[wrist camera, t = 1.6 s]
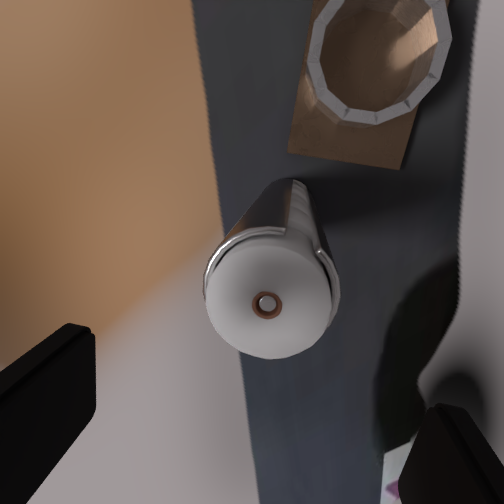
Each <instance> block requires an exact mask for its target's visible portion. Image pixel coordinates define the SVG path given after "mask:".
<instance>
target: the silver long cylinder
mask: <svg viewBox="0 0 504 504" xmlns="http://www.w3.org/2000/svg"><path fill="white" fill-rule="evenodd" d="M203 295H204V299H205V303H206V307H207V311H208V315H209V319H210V321H211V322H212V324H213V326H214V328H215V330H216V331H217V332H218V333H219V335H220V336H221V337H222V338H223V339H224V340H225V341H226V342H227V343H228V344H230V345H231V346H233V347H234V348H236V349H237V350H239V351H241V352H244V353H247V354H249V355H252V356H256V357H260V358H265V359H278V358H286V357H289V356H292V355H294V354H297V353H300V352H302V351H304V350H305V349H307V348H309V347H311V346H312V345H313V344H314V343H315V342H316V341H317V340H318V339H319V338H320V337H321V336H322V335H323V333H324V331H325V330H326V329H327V328H328V327H329V326H330V324H331V322H332V320H333V319H334V317H335V315H336V313H337V311H338V306H339V301H340V297H341V289H340V279H339V274H338V271H337V268H336V265H335V262H334V259H333V256H332V253H331V250H330V247H329V244H328V241H327V238H326V235H325V232H324V229H323V226H322V223H321V220H320V217H319V214H318V211H317V208H316V205H315V202H314V199H313V197H312V194H311V192H310V191H309V189H308V188H307V187H306V186H305V185H304V184H303V183H301V182H300V181H297V180H295V179H288V178H285V179H279V180H276V181H274V182H272V183H271V184H270V185H268V186H267V187H266V188H265V189H264V191H263V192H262V193H261V194H260V196H259V197H258V198H257V199H256V200H255V202H254V203H253V204H252V205H251V207H250V208H249V209H248V210H247V211H246V213H245V214H244V215H243V216H242V218H241V219H240V220H239V221H238V222H237V224H236V225H235V226H234V227H233V229H232V230H231V231H230V232H229V233H228V235H227V236H226V237H225V238H224V240H223V241H222V242H221V243H220V245H219V246H218V247H217V248H216V250H215V252H214V253H213V254H212V256H211V257H210V258H209V260H208V264H207V266H206V269H205V272H204V276H203Z"/></svg>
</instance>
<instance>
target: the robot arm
mask: <svg viewBox="0 0 504 504" xmlns="http://www.w3.org/2000/svg"><path fill="white" fill-rule="evenodd" d="M95 356H96V355H95V335H94V334H92V333H91V330H90V328H89V327H85V326H80V325H76V324H72V323H67V324H65V325H64V326H62V327H61V328H60V329H58V330H57V331H55V332H54V333H53V334H52V335H50V336H49V337H47V338H46V339H44V340H43V341H42V342H40V343H39V344H38V345H36V346H35V347H33V348H32V349H31V350H29V351H28V352H27V353H25V354H24V355H23V356H21V357H20V358H18V359H17V360H16V361H14V362H13V363H12V364H10V365H9V366H8V367H6V368H5V369H4V370H2V371H1V372H0V504H26V503H27V502H28V501H29V499H30V498H31V497H32V495H33V494H34V493H35V492H36V490H37V489H38V488H39V486H40V485H41V484H42V483H43V481H44V480H45V479H46V477H47V476H48V475H49V474H50V472H51V471H52V470H53V468H54V467H55V466H56V464H57V463H58V462H59V461H60V459H61V458H62V457H63V455H64V454H65V453H66V452H67V450H68V449H69V448H70V446H71V445H72V444H73V443H74V441H75V440H76V439H77V437H78V436H79V435H80V433H81V432H82V431H83V430H84V428H85V427H86V425H87V424H88V423H89V422H90V420H91V419H92V417H93V415H94V413H95V410H96V362H95V361H96V358H95ZM398 491H399V496H400V499H401V502H402V504H504V466H503V464H502V463H501V461H500V460H499V459H498V457H497V455H496V454H495V452H494V451H493V450H492V448H491V446H490V445H489V443H488V442H487V440H486V439H485V437H484V436H483V435H482V433H481V431H480V430H479V429H478V427H477V425H476V424H475V422H474V421H473V419H472V418H471V417H470V415H469V414H468V412H467V411H466V410H465V409H463V408H461V407H457V406H452V405H448V404H442V403H438V404H436V405H435V407H430V408H429V409H428V410H427V413H426V415H425V417H424V420H423V422H422V424H421V427H420V429H419V432H418V434H417V436H416V439H415V441H414V444H413V446H412V448H411V451H410V453H409V455H408V458H407V460H406V463H405V465H404V467H403V470H402V472H401V475H400V477H399V480H398Z"/></svg>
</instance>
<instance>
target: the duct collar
mask: <svg viewBox="0 0 504 504" xmlns="http://www.w3.org/2000/svg"><path fill="white" fill-rule="evenodd" d="M449 1H450V0H314V1H313V6H312V12H311V18H310V23H309V29H308V35H307V40H306V46H305V52H304V58H303V63H302V69H301V75H300V80H299V86H298V92H297V97H296V103H295V109H294V114H293V120H292V126H291V131H290V137H289V143H288V148H287V153H293V154H299V155H305V156H312V157H318V158H324V159H331V160H337V161H344V162H350V163H356V164H363V165H369V166H375V167H382V168H388V169H394V170H400V166H401V163H402V159H403V156H404V153H405V149H406V146H407V143H408V139H409V136H410V132H411V129H412V126H413V122H414V119H415V116H416V112H417V109H418V105H419V102H420V101H421V100H422V99H423V98H424V97H425V95H426V94H427V93H428V92H429V91H430V90H431V89H432V88H433V87H434V86H435V84H436V83H437V82H438V81H439V80H440V77H441V74H442V70H443V67H444V64H445V61H446V57H447V54H448V51H449V48H450V44H451V41H452V34H451V29H450V24H449V19H448V14H447V8H448V4H449Z"/></svg>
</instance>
